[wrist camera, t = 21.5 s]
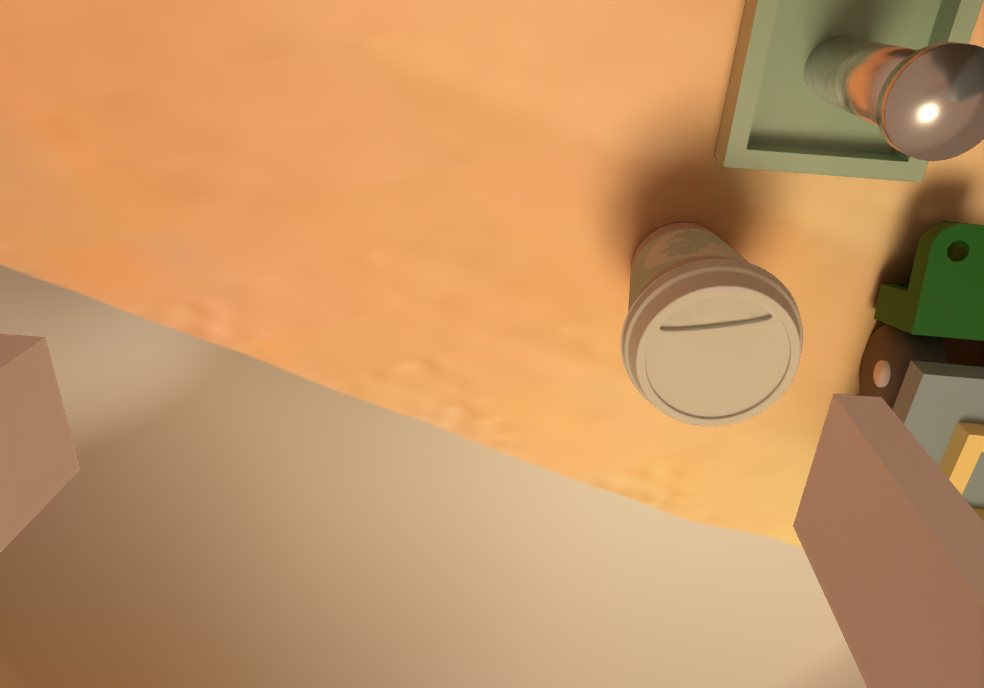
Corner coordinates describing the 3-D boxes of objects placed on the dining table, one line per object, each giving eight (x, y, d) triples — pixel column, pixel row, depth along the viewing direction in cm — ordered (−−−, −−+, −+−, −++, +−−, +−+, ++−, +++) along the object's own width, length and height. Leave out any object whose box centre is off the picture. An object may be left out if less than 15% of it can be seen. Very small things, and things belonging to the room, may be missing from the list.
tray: (756, -53, 36) (769, -55, 33) (969, -39, 35) (997, -40, 33) (714, 156, 40) (723, 167, 38) (901, 171, 40) (921, 182, 38)
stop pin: (805, 22, 36) (907, 39, 26) (889, 28, 36) (1027, 48, 26) (784, 107, 38) (871, 156, 28) (864, 113, 38) (982, 165, 27)
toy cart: (870, 306, 44) (937, 377, 36) (1072, 324, 43) (1184, 399, 35) (814, 476, 50) (861, 567, 42) (990, 493, 49) (1071, 589, 41)
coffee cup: (779, 234, 42) (853, 320, 31) (703, 349, 46) (747, 461, 35) (650, 175, 41) (682, 243, 31) (584, 298, 45) (592, 396, 34)
